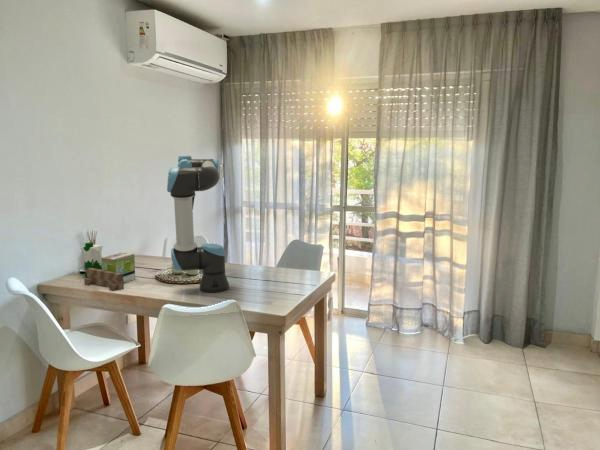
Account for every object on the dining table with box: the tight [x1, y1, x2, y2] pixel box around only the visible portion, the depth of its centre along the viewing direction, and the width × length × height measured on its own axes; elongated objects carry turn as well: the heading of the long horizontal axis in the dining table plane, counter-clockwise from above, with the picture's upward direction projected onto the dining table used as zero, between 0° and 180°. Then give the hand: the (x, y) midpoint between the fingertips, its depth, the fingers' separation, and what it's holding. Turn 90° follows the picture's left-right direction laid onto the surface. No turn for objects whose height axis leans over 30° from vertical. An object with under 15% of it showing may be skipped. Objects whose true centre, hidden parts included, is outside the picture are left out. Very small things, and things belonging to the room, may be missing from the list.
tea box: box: [102, 252, 136, 284], centre depth 259 cm, size 15×10×15 cm
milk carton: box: [81, 242, 103, 279], centre depth 269 cm, size 9×9×20 cm
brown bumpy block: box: [83, 268, 125, 292], centre depth 250 cm, size 26×5×8 cm, turn 60°
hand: (187, 222), depth 277 cm, fingers closed
